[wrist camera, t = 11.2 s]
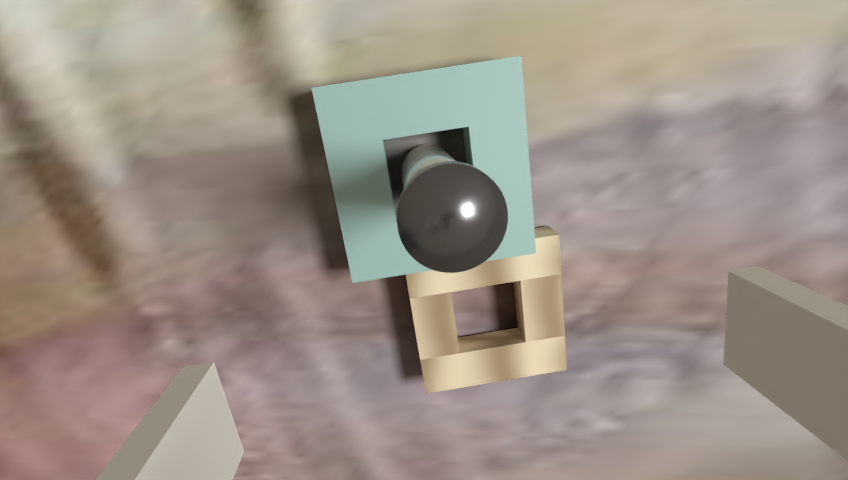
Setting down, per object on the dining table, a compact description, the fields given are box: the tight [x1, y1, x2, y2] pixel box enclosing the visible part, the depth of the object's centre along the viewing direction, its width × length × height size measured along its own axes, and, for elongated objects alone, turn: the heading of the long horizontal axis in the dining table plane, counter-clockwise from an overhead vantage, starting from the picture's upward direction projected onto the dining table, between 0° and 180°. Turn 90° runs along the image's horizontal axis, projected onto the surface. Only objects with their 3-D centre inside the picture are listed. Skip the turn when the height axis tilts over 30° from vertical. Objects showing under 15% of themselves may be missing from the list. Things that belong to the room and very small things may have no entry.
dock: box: [312, 56, 536, 283], centre depth 33 cm, size 14×14×3 cm
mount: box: [406, 226, 567, 393], centre depth 37 cm, size 12×12×2 cm
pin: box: [397, 144, 508, 273], centre depth 27 cm, size 5×5×15 cm
